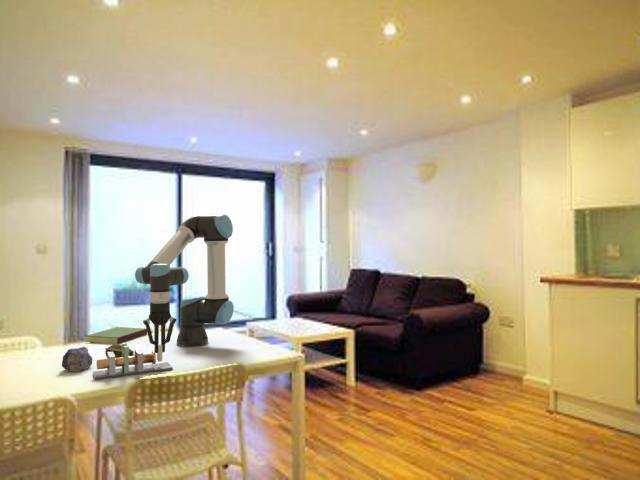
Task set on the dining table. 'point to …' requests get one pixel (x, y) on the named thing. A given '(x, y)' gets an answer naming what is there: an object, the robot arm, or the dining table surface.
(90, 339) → the hardcover book
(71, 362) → the rock
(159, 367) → the collar rail
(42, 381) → the dining table surface
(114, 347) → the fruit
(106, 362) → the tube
